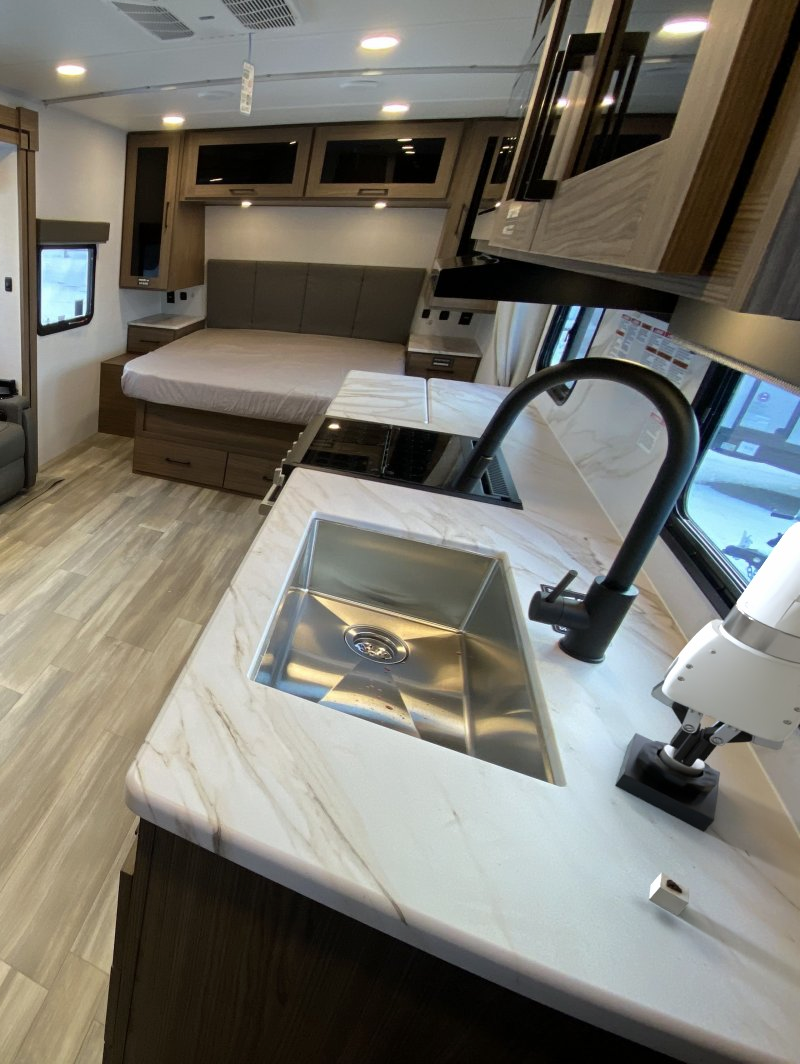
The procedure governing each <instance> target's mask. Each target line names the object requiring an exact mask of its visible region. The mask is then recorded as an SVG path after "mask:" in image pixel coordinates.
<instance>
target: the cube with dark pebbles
mask: <svg viewBox="0 0 800 1064" xmlns="http://www.w3.org/2000/svg"><path fill="white" fill-rule="evenodd" d="M690 890H691V888H690V887H688V886H687V885H684V884H682V883H681V882H678V881H677V880H675V879H674V878H672V877H670V876H668V875H667V874H665V873H663V872H660V874H658V875H657V877H656V878H655V879H654V881H653V882H652V883H651V884H650V889H649V897H648V901H650V902H652V903H653V904H655V905H657V906H659V907H660V908H662V909H664V910H665V911H668V912H669V913H671V914H673V915H675V916H677V917H678V916H679V915H680V914H681V913H682V912H683V911H684V909H685V908H686V907H687V906H688V905H689V904H690Z"/></svg>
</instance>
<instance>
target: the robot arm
mask: <svg viewBox="0 0 800 1064" xmlns="http://www.w3.org/2000/svg"><path fill="white" fill-rule="evenodd" d="M663 678H664V679H663V680H661V681H660V682H658V683H657V684H656V685H655V686H654V687H652V689H651V692H650V695H651V697H652V698H654V699H655V700H657V701H658V702H660V703H661V704H664V705H665V706H666V707H669V708H671V711H672V712H673V713H674V715H675V716H676V718H677V720H678V722H679V723H680V724H681V726H680V727H679V728H678V729H677V731H676V733H675V734H674V735H673V736H672V738H671V739H670V742H669V744H670V746H672V747H674V748H675V751H674V755H673V758H674V759H676V760H678V761H679V760H681V761H682V760H683V759H684V760H683V762H685V764H687V765H689V766H692V765H693V764H694V763H695V761H696V760H697V759H699V760H702V761H704V762H705V761H706V760H707V759H708V758H709V756H710V755H711V754H712V753H713V752H714V750H715V749H716V748H717V746H718V747H723V746H725V745H726V744H735V743H736V744H737V743H739V744H740V743H752V744H753V745H756V746H761V747H763V748H768V749H771V750H775V751H778V750H779V751H780V750H782V748H783V746H784V742H785V740H786V739H788V738H789V737H790V736H791V735H793V733H794V732H795V730H796V729H797V728H798V726H799V725H800V521H798V522H796V523H794V524H793V525H792V526H790V527H789V528H788V529H787V530H786V532H785V533H784V534H783V536H782V537H781V538H780V540H779V541H778V542H777V544H776V545H775V547H774V548H773V549H772V551H771V552H770V554H769V555H768V556H767V558H766V560H765V561H764V562H763V564H762V566H761V567H760V568H759V570H758V571H757V572H756V574H755V575H754V577H753V578H752V580H751V581H750V582H749V584H748V585H747V587H746V588H745V590H744V591H743V593H742V594H741V595H740V596H739V598H738V599H737V601H736V602H735V604H734V605H733V607H732V608H731V609H730V611H729V612H728V614H727V615H726V617H724V620H722V619H712V620H711V621H709V622H708V623H707V624H706V625H704V626H703V627H702V628H701V629H700V630H699V631H697V633H696V634H695V635H694V636H693V637H692V638H691V639H690V640H689V642H688V643H687V644H686V645H685V646H684V647H683V649H681V651H680V652H679V653H678V655H677V656H676V657H675V658H674V660H673V661H672V663H671V664H670V665H669V667H668V668H667V670H666V671H665V673H664V677H663ZM703 716H707V717H709V718H711V719H714V720H716V722H714V723H713V724H712V725H711V726H706V727H704V728H701V727H702V723H701V721H702V719H703Z"/></svg>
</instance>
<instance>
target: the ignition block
mask: <svg viewBox="0 0 800 1064" xmlns="http://www.w3.org/2000/svg"><path fill="white" fill-rule="evenodd" d="M666 745H670V743H668V742H664V741H659V740H653V739H650V738H648V737H645V736H644V735H642V734H639V733H637V732H636V733H634V735H633V736H632V738H631V739H630V741H629V742H628V743H627V747H626V750H625V753H624V756H623V759H622V762H621V765H620V769H619V772H618V775H617V778H616V781H615V785H614V786H615V787H616V788H619V789H620V790H622V791H624V792H626V793H628V794H630V795H631V796H633V797H636V798H637V799H640V800H641V801H643V802H645V803H647V804H649V805H651V806H652V807H655V808H656V809H658V810H661V811H662V812H665V813H666V814H668V815H670V816H672V817H674V818H676V819H678V820H680V821H681V822H683V823H686V824H687V825H689V826H691V827H693V828H695V829H697V830H699V831H700V832H703V833H705V832H706V831H707V829H709V827H710V826H711V825H712V824H713V823H714V821H715V819H716V809H717V803H718V801H717V799H718V794H719V793H718V791H719V785H720V784H719V783H720V775H721V772H720V771H719V770H716V769H714V768H712V767H711V766H710V765H709V764H708V763H706V762H705V761H703V762H704V764H705V768H704V769H703V770H702V771H701V773H700V774H699V775H698V776H697V778H694V777H690V776H686V775H683V774H681V773H679V772H677V771H675V770H673V769H671V768H669V767H668V766H667V765H665V764H664V763H663V762H661V760H660V759H659V757H658V755H659V754H660V752H661V751H662V750H663V748H664V747H665V746H666Z"/></svg>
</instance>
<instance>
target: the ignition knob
mask: <svg viewBox="0 0 800 1064" xmlns="http://www.w3.org/2000/svg"><path fill="white" fill-rule="evenodd" d="M674 751H675V748H674V747H672V746H670V745H666V746H665V747H664V748H663V750H662V751H661V752H660V754H659V755H658V757H659V759H660V760H661V762H663V763H664V764H665V765H667V766H668V767H669V768H671V769H673V770H675V771H677V772H679V773H681V774H683V775H686V776H690V777H694V778H697V776H698V775H699V774H700V773H701V771H702V770H703V769H704V768H705V764H704V762H705V761H704V762H703V761H702V760H699V759H697V760H696V761H695V763H694V764H693V765H692V766H689V765H687V764H685V762H683V760H684V759H683V760H682V761H681V760H679V761H678V760H676V759H674V758H673V755H674Z"/></svg>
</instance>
